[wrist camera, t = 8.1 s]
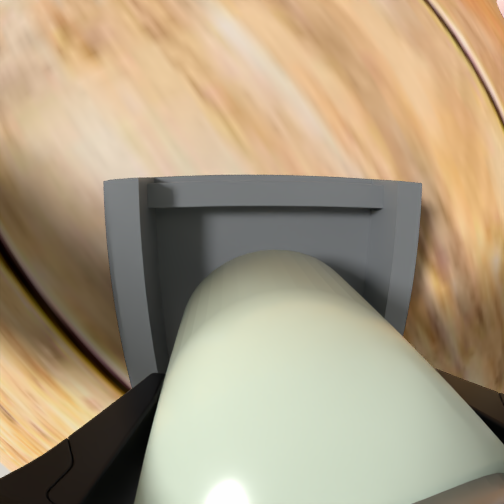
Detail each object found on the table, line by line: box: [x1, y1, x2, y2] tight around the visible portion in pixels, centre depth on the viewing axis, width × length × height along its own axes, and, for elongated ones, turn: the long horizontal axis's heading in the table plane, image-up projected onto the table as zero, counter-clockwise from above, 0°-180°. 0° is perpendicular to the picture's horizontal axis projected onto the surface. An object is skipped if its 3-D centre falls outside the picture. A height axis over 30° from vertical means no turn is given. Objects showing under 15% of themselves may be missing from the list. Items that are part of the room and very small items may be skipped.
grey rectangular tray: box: [104, 175, 422, 388], centre depth 11 cm, size 12×18×6 cm, turn 0°
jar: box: [134, 250, 504, 504], centre depth 6 cm, size 6×6×9 cm
